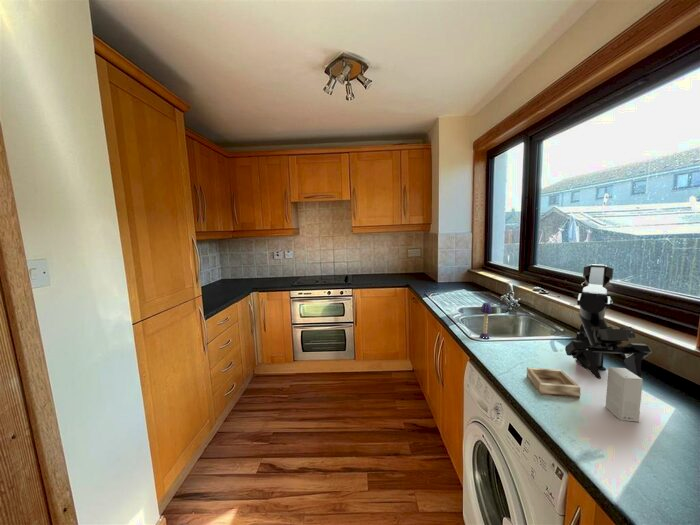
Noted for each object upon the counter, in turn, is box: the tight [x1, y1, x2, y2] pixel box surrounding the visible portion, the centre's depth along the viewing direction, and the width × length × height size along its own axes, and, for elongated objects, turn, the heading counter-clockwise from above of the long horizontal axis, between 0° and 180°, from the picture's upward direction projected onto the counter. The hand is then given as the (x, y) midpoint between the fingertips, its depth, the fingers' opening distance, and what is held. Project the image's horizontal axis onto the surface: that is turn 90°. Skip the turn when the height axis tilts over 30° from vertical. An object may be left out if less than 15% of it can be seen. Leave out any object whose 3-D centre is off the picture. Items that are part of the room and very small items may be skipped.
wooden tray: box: [526, 367, 581, 399], centre depth 88 cm, size 10×10×4 cm
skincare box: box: [604, 366, 644, 423], centre depth 74 cm, size 6×4×12 cm
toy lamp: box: [479, 302, 493, 339], centre depth 127 cm, size 5×5×17 cm
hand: (619, 380), depth 75 cm, fingers open, 9 cm apart
